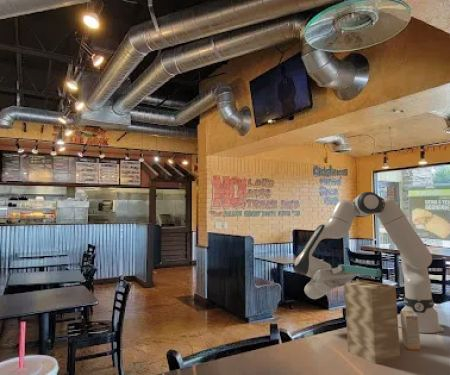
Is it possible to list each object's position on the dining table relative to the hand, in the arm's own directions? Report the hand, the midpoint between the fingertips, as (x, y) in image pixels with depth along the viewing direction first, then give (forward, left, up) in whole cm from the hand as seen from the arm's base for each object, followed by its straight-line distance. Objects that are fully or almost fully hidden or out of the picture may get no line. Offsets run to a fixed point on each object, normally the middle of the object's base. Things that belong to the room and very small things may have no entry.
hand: (345, 266), depth 152 cm
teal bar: (+5, +6, -2) cm, 7 cm away
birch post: (+8, +10, -31) cm, 34 cm away
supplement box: (-7, +23, -32) cm, 40 cm away
